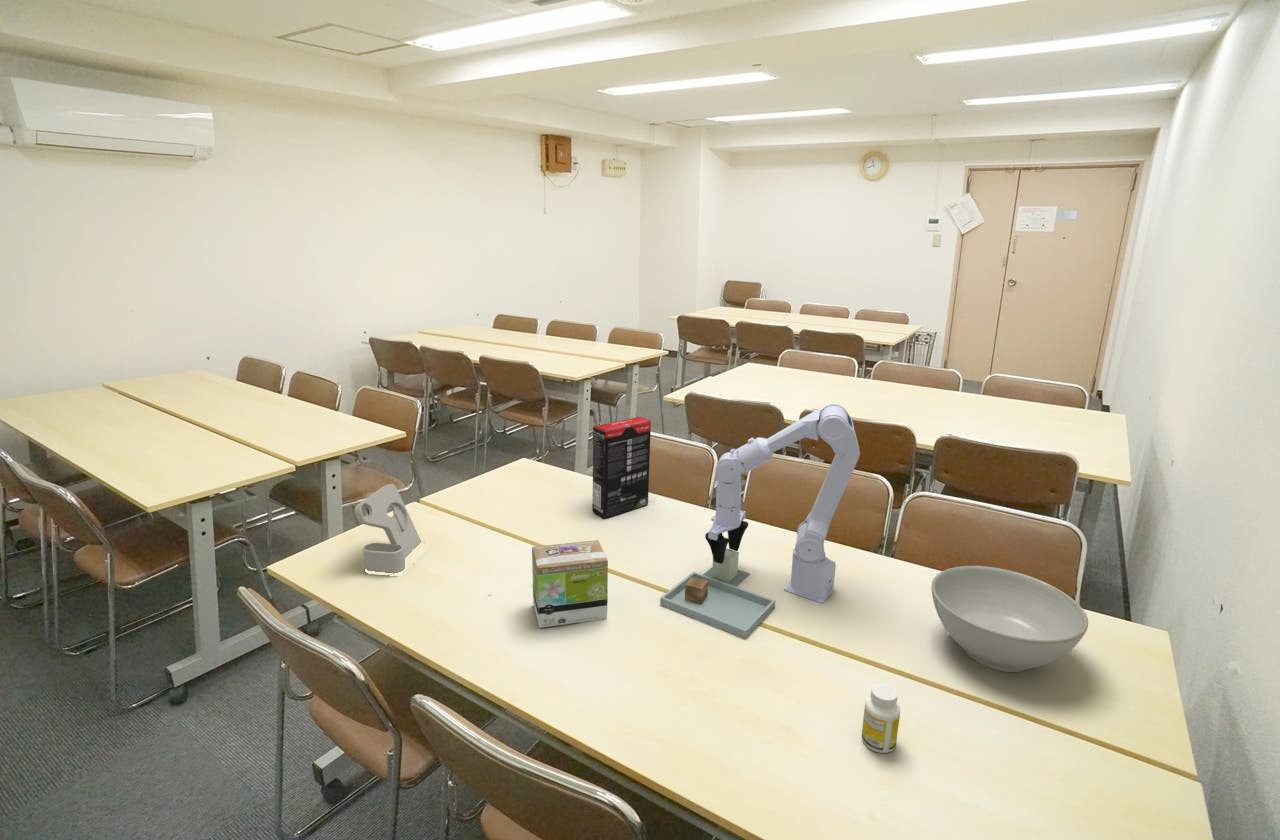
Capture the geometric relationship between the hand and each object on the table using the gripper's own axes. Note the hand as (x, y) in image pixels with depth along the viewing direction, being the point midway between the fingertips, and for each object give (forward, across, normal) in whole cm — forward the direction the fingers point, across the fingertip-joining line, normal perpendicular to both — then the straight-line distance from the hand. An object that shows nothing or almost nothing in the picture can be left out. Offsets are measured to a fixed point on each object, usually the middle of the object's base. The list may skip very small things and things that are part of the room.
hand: (726, 555), depth 156 cm
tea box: (+6, +34, -20) cm, 40 cm away
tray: (+6, +13, +5) cm, 15 cm away
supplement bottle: (+6, +32, +46) cm, 56 cm away
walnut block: (+6, +13, -1) cm, 14 cm away
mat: (+6, 0, 0) cm, 6 cm away
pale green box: (+5, 0, 0) cm, 5 cm away
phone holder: (+5, +42, -71) cm, 83 cm away
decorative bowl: (+6, -6, +58) cm, 59 cm away
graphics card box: (+6, -16, -44) cm, 47 cm away
